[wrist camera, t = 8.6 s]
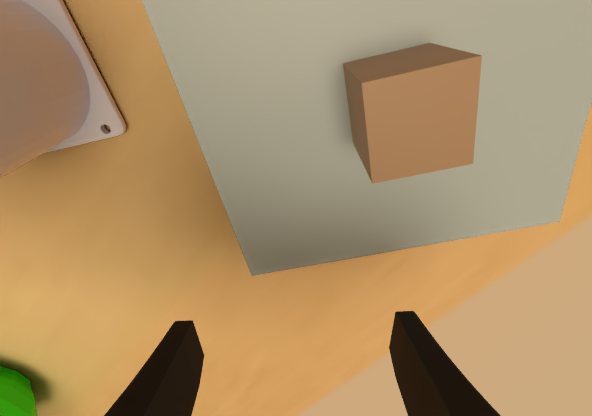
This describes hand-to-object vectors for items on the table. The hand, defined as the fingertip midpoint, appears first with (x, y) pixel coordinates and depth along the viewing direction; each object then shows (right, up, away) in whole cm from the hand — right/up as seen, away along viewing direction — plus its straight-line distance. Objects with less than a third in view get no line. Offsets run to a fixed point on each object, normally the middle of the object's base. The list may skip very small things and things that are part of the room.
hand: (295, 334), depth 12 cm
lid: (+3, +9, +1) cm, 10 cm away
